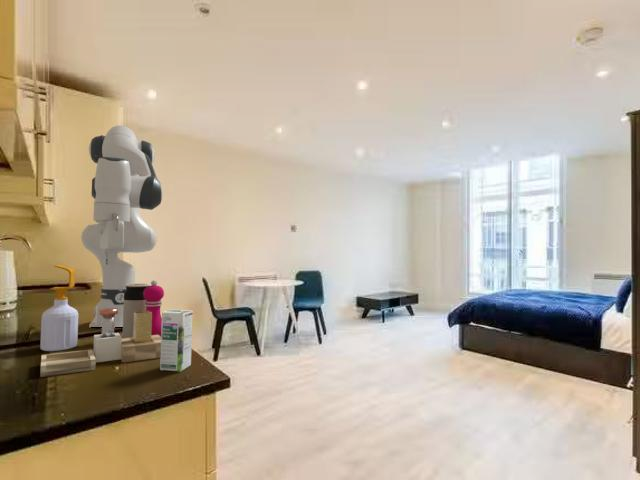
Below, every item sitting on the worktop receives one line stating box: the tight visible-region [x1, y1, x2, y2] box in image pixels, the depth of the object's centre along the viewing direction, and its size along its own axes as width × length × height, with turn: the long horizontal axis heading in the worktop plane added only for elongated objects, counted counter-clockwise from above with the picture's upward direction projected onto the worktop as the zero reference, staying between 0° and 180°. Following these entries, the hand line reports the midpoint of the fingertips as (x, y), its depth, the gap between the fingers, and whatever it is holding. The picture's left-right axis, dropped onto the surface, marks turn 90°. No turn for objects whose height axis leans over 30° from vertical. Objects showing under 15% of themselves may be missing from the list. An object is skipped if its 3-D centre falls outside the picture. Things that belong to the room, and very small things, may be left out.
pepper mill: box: [143, 279, 165, 337], centre depth 121 cm, size 7×7×20 cm
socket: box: [120, 335, 161, 363], centre depth 109 cm, size 11×11×4 cm
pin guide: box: [92, 332, 122, 363], centre depth 105 cm, size 6×6×6 cm
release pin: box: [99, 308, 118, 338], centre depth 105 cm, size 4×4×9 cm
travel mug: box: [121, 282, 151, 338], centre depth 127 cm, size 8×8×18 cm
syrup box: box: [159, 309, 194, 372], centre depth 98 cm, size 6×6×14 cm
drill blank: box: [133, 311, 152, 343], centre depth 109 cm, size 4×4×12 cm
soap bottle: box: [39, 264, 79, 352], centre depth 114 cm, size 9×9×25 cm
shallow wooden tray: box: [39, 348, 97, 378], centre depth 96 cm, size 11×11×2 cm
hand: (110, 265), depth 105 cm, fingers open, 4 cm apart
